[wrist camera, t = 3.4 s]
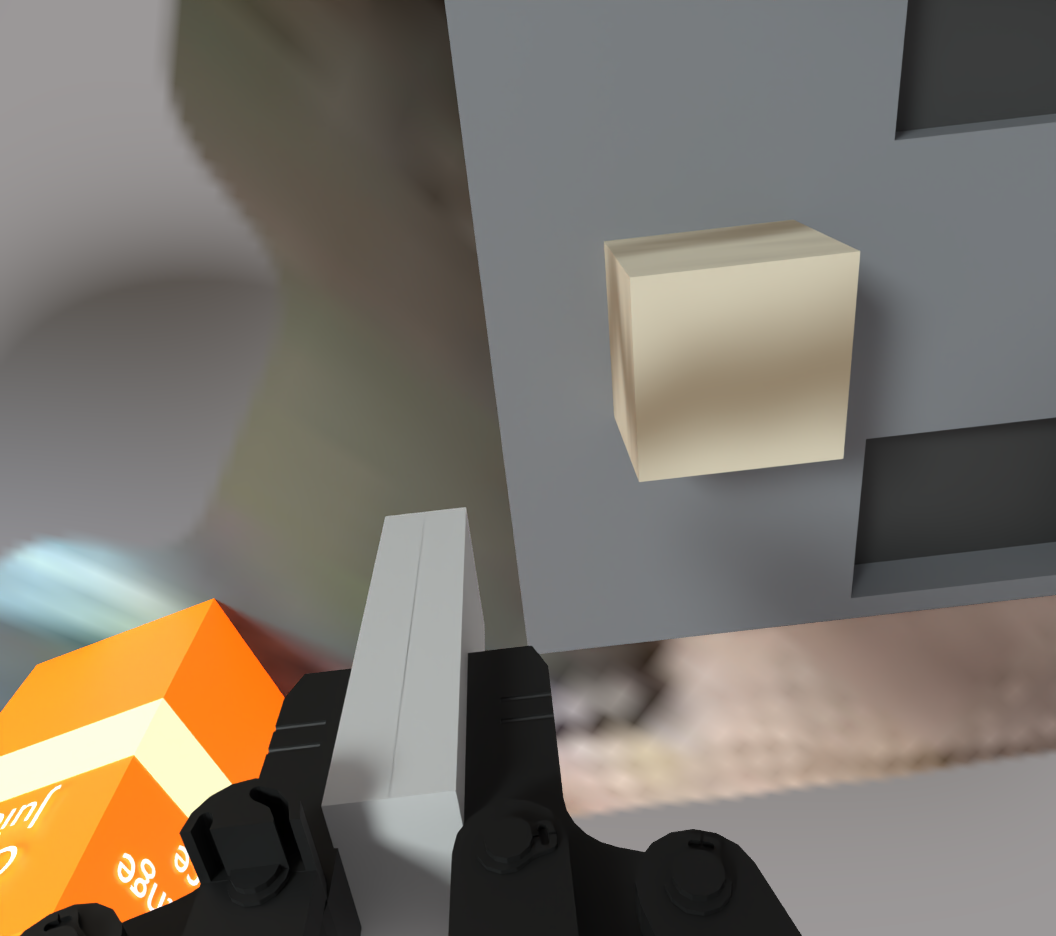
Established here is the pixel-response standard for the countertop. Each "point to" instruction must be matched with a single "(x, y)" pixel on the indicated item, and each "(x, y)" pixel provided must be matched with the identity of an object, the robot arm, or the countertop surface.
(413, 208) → the countertop surface
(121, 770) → the orange juice
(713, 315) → the birch block
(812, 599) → the platform
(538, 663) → the robot arm
